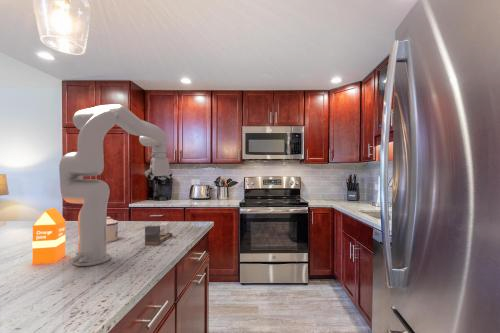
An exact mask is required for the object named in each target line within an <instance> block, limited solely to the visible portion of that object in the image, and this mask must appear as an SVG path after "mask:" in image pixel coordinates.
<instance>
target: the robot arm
mask: <svg viewBox="0 0 500 333" xmlns="http://www.w3.org/2000/svg"><path fill="white" fill-rule="evenodd" d="M72 122H73V125H74V127H75V128H76V129H78V130H79V133H78V135H77V151H72V152H71V151H70V152H67V153H66V154H64V155H63V156H62V157H61V158H60V161H59V165H58V167H59V168H58V170H59V173H58V174H59V189H60V195H61V197H62V199H63V200H64V201H65V202H67V203H69V204H77V205H78V204H80V205H81V204H82V207H81V208H80V209H79V213H78V216H77V235H78V236H77V252H76V255H75V256H74V257H71V258H69V260H68V263H69V265H73V266H76V267H90V266H95V265H100V264H105V263H106V262H108V261H110V260H111V259H112V258H111V257H112V254H111V253H108V252H107V242H106V240H107V217H108V216H107V212H108V211H107V210H108V202H109V199H110V192H111V190H110V186H109V184H108V183H107V182H105V181H104V180H101V179H92V178H91V179H89V178H88V179H84V177H95V176H99V175H101V174H103V172H104V168H105V161H104V160H105V157H104V139H105V136H106V135H107V133H108V132H109V131H110V130H111V129H112V128H113V127H115V125H117V126H118V127H119V128H121V129H122V130H124V131H125V132H126V133H128V134H129V135H133V136H137V137H138V141H139V143H140V144H141V145H142V146H144V147H151V148H152V149H151V150H152V152H151V153H150V154H149V156H150V157H151V159H150V165H149V169H147V170H145V171H144V174H145V175H144V176H145V177H146V178H147V180H149V181H148V184H149V187H150V188H154V187H155V186H154V185H155V184H154V183H155V179H154V178H155V177H164V178H165V180H164V182H165V184H164V185H165V187H169V186H170V182H171V181H170V180H171V178H172V177H173V174H174V173H175V172H174V170H172V169H170V162H169V158H167V143H168V136H167V134H166V133H165V131H164V130H163V129H162V128H160V127H159V126H158V125H155V124H153V123H152V122H151V123H150V122H148V121H146V120H143V119H140V118H139V117H138V116H137V115H136V114H134V113H133V112H132V111H131V110H130V109H129V108H127V107H126V106H124V105H123V104H118V103H114V104H101V105H96V106H94V107H89V108H84V109H79V110H78V111H76V112H75V113H74V115H73V116H72Z"/></svg>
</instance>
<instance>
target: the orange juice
mask: <svg viewBox="0 0 500 333" xmlns="http://www.w3.org/2000/svg"><path fill="white" fill-rule="evenodd" d="M31 246H32V265H39V264H41V263H43V264H51V263H57V262H58V261H59V260H62V258H63V257H65V256H66V219H65V218H64V217H63V216H62V214H61V213H60V212H59V211H58V210H57V209H56V207H52V208H49V209H46V210H44V211H43V212H42V214H41V215H40V216H39V218H38V219H37V220H36V222H35V223H34V224H33V225H32V245H31Z"/></svg>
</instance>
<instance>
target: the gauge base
mask: <svg viewBox="0 0 500 333" xmlns="http://www.w3.org/2000/svg"><path fill="white" fill-rule="evenodd" d="M172 236H173V232H170V234H166V235H160V226H159V225H147V226H145V227H144V246H159V245H160V244H162V243H163V242H165V241H166V240H168V239H170V238H171V237H172Z"/></svg>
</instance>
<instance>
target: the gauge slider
mask: <svg viewBox="0 0 500 333" xmlns="http://www.w3.org/2000/svg"><path fill="white" fill-rule="evenodd" d="M158 226H160V235H166V234H170V233H171V230H170V229H171V227H170V221H160V223H159V224H158Z"/></svg>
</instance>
